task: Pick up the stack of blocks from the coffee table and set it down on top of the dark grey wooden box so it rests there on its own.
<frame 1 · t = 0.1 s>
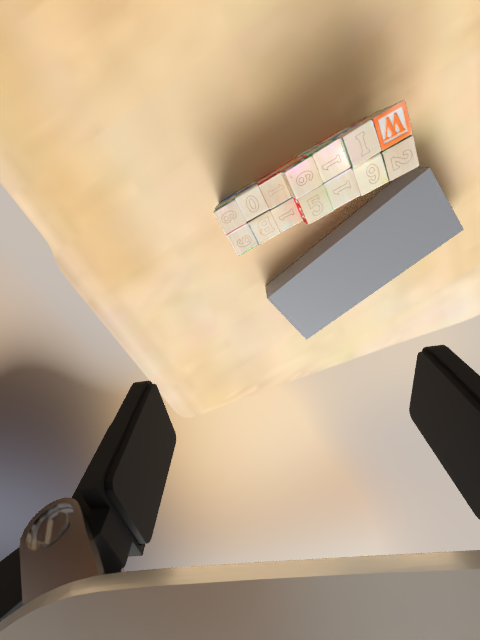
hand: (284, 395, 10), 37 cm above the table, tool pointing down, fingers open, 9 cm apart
stack of blocks: (293, 184, 41), on the table
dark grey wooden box: (348, 256, 45), on the table
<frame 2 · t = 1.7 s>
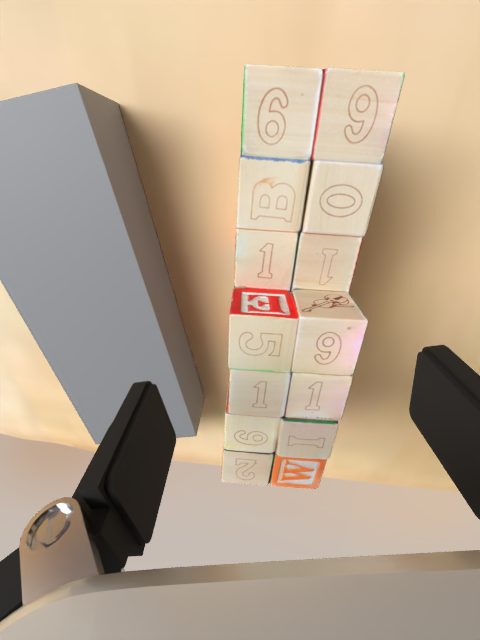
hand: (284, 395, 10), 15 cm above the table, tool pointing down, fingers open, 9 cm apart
stack of blocks: (276, 266, 24), on the table
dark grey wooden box: (117, 293, 25), on the table
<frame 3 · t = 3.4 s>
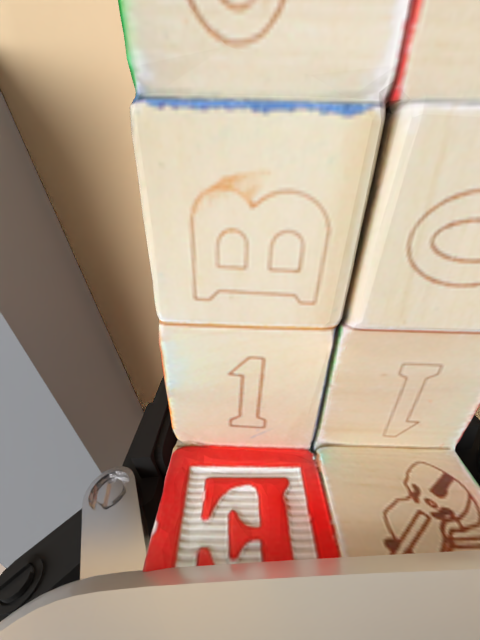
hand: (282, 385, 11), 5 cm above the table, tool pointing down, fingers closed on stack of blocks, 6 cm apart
stack of blocks: (273, 314, 15), on the table, touching gripper
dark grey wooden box: (32, 356, 16), on the table
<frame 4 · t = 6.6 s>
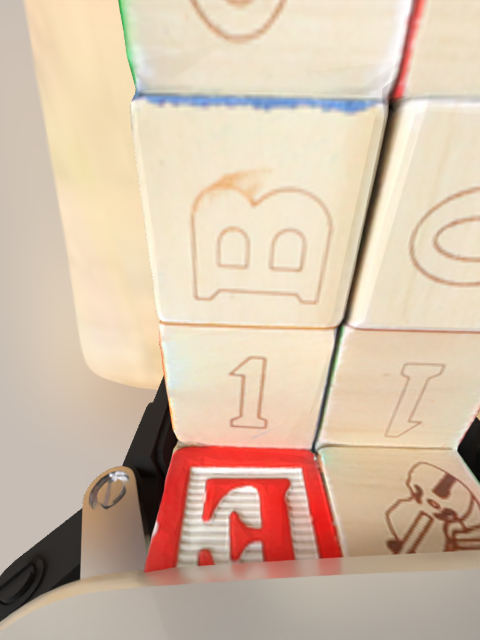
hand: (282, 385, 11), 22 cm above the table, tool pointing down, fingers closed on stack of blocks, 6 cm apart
stack of blocks: (273, 314, 15), point 17 cm above the table, touching gripper
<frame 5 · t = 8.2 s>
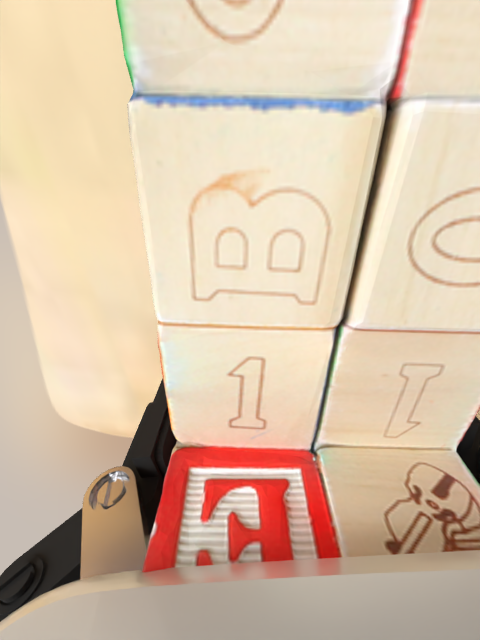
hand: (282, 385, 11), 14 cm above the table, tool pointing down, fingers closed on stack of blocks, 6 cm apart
stack of blocks: (272, 314, 15), point 9 cm above the table, touching gripper
when the fingers open (11 cm above the table, at t = 9.7 s): stack of blocks drops 1 cm, resting on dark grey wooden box.
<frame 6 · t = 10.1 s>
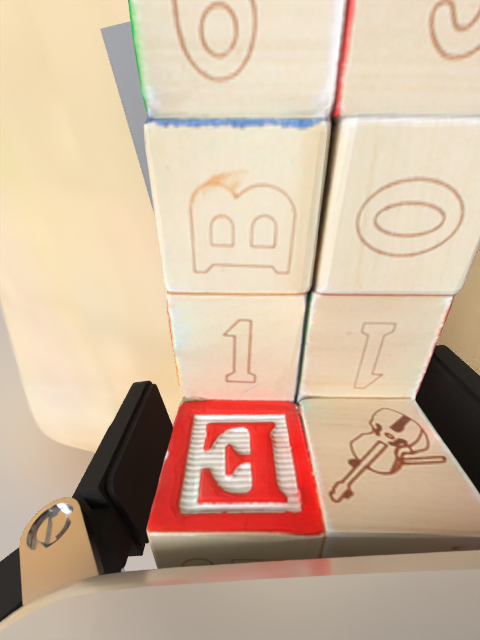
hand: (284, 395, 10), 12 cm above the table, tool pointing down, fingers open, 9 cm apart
stack of blocks: (269, 303, 16), point 5 cm above the table, touching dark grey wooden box
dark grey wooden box: (265, 281, 21), on the table
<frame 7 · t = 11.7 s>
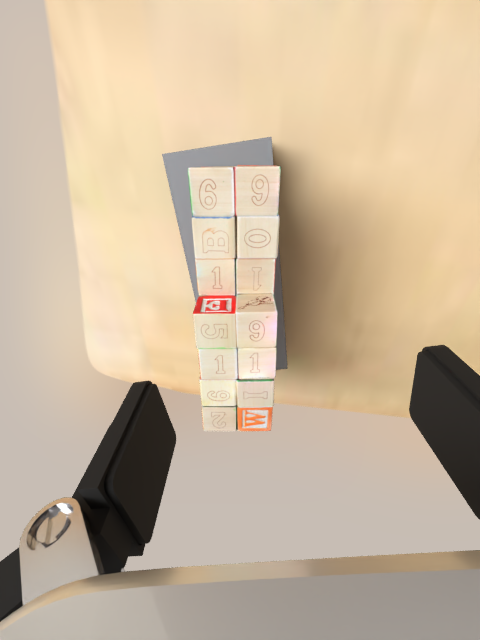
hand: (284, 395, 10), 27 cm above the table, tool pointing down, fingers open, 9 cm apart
stack of blocks: (238, 274, 32), point 5 cm above the table, touching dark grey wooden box
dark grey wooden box: (236, 266, 36), on the table
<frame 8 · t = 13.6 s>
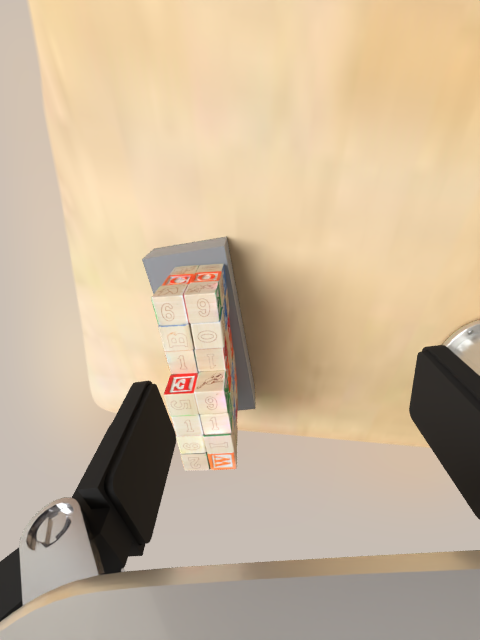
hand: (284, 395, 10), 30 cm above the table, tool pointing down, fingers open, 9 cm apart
stack of blocks: (210, 338, 39), point 5 cm above the table, touching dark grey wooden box
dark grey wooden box: (210, 326, 44), on the table
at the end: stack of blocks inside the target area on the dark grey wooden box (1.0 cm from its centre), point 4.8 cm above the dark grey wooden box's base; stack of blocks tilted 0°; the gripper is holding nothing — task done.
